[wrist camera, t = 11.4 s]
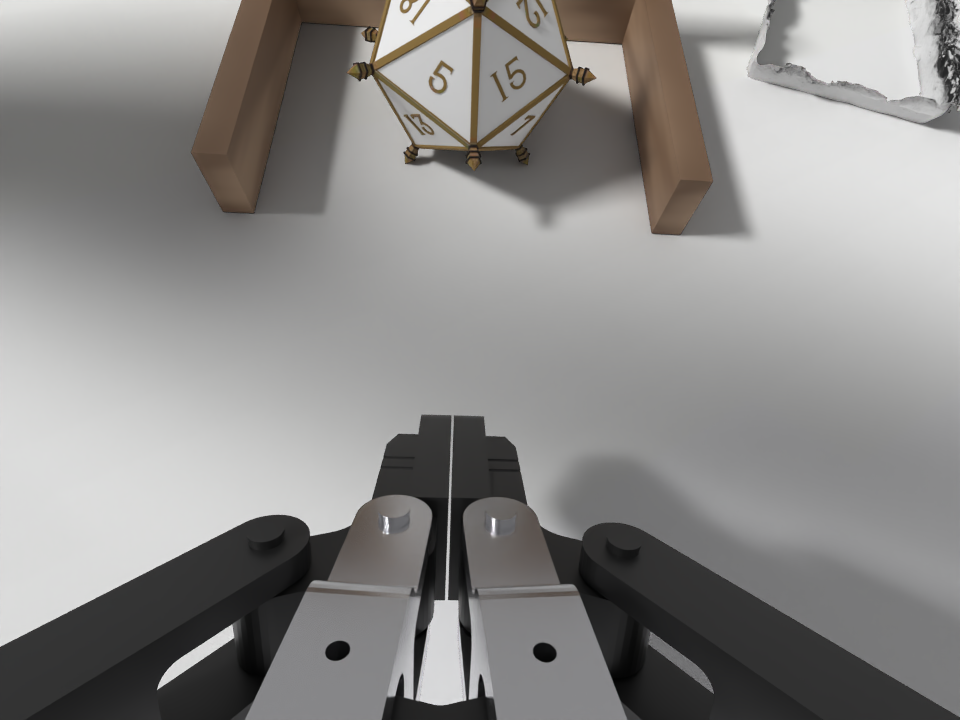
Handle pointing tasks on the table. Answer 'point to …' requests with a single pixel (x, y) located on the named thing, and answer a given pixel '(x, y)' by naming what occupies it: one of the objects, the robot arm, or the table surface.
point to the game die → (469, 71)
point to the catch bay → (286, 3)
